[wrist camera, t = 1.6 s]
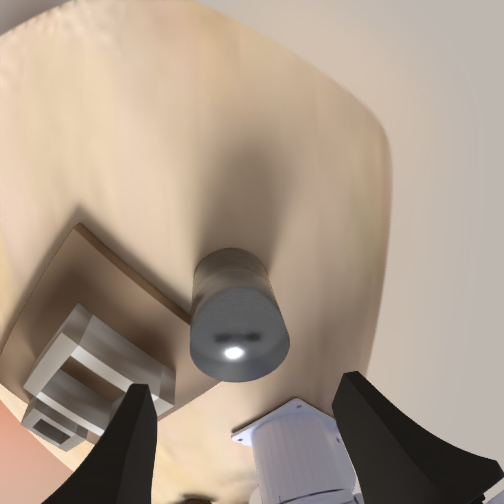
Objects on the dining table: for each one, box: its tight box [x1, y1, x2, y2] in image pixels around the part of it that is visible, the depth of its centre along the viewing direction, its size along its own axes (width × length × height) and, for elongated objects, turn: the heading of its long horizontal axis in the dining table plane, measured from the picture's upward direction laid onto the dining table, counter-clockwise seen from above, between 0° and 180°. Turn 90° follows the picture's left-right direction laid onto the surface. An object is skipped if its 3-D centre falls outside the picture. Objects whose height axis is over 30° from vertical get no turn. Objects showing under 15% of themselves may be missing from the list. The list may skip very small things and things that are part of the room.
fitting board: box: [0, 223, 221, 452], centre depth 18 cm, size 14×20×4 cm
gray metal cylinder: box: [190, 248, 290, 382], centre depth 15 cm, size 4×4×6 cm
